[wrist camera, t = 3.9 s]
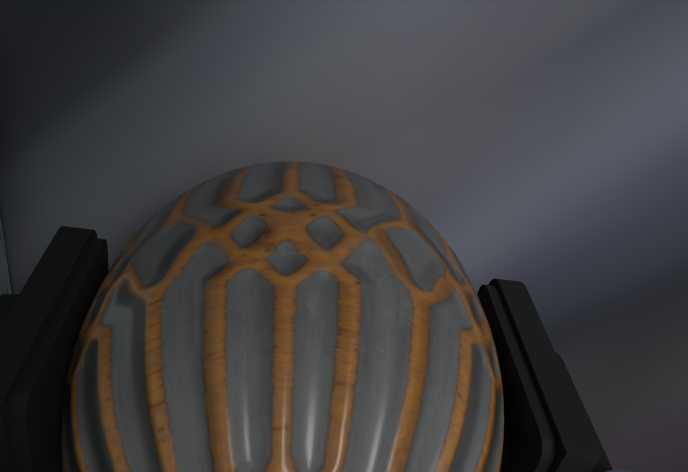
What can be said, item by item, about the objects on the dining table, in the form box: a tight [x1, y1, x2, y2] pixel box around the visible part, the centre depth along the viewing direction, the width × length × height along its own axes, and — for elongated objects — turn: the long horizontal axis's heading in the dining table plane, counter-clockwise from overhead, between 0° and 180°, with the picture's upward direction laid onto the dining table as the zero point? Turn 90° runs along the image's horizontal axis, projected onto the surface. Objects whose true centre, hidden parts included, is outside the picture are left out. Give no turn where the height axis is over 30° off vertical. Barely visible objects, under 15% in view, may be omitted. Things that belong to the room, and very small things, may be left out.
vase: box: [61, 162, 504, 472], centre depth 10 cm, size 7×7×9 cm
